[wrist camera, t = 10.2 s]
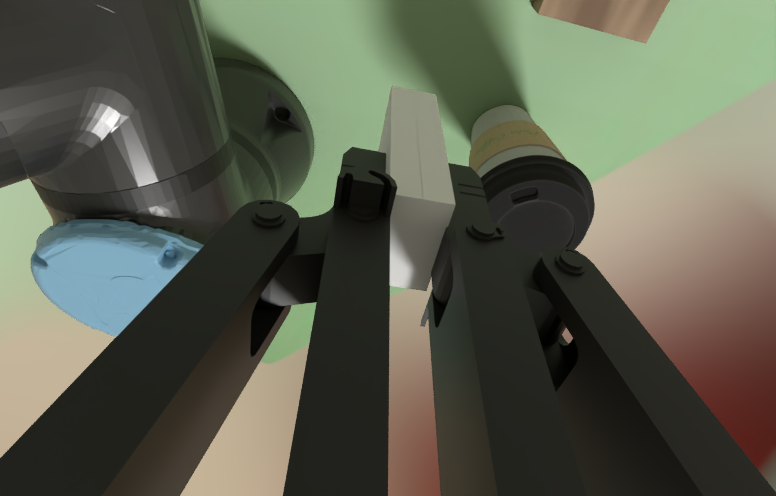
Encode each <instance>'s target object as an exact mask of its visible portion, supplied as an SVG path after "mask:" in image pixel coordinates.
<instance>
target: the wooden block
mask: <svg viewBox="0 0 776 496" xmlns="http://www.w3.org/2000/svg"><path fill="white" fill-rule="evenodd" d="M669 1H670V0H534V2H533V5H532V7H533V8H534V9H535V11H536V12H537V13H538V14H540V15H544V16H548V17H551V18H555V19H559V20H562V21H566V22H570V23H573V24H577V25H580V26H584V27H588V28H591V29H595V30H599V31H602V32H606V33H609V34H613V35H617V36H620V37H624V38H628V39H631V40H635V41H638V42H642V43H646V42H647V40H648V39H649V37H650V35H651V33H652V31H653V30H654V28H655V26H656V24H657V22H658V20H659V19H660V17H661V15H662V13H663V11H664V10H665V8H666V6H667V4H668V2H669Z"/></svg>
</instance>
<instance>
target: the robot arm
mask: <svg viewBox="0 0 776 496" xmlns="http://www.w3.org/2000/svg"><path fill="white" fill-rule="evenodd" d="M313 155H314V137H313V131H312V127H311V124H310V121H309V119H308V116H307V114H306V112H305V110H304V108H303V107H302V105H301V104H300V102H299V101H298V99H297V98H296V97H295V95H294V94H293V93H292V92H291V91H290V90H289V89H288V88H287V87H286V86H285V85H284V84H283V83H282V82H281V81H279V80H278V79H277V78H275V77H274V76H272V75H271V74H269V73H268V72H266V71H264V70H262V69H260V68H258V67H256V66H254V65H251V64H249V63H246V62H242V61H238V60H233V59H224V58H215V59H213V57H212V53H211V49H210V45H209V40H208V36H207V32H206V28H205V24H204V20H203V16H202V12H201V8H200V3H199V0H0V188H2V187H5V186H8V185H11V184H13V183H16V182H19V181H22V180H25V179H30V180H31V182H32V184H33V185H34V187H35V189H36V190H37V192H38V194H39V196H40V198H41V199H42V201H43V203H44V205H45V207H46V208H47V210H48V212H49V214H50V215H51V217H52V219H53V226H50V227H49V228H47V229H46V230H45V231H44V232H43V233H42V234H40V236H39V237H38V239H37V246H36V250H35V252H34V253H33V255H32V257H31V271H32V273H33V277H34V279H35V281H36V283H37V285H38V286H39V288H40V289H41V291H42V292H43V293H44V295H45V296H46V297H47V298H48V299H49V300H50V301H51V302H52V303H53V304H55V305H56V306H57V307H58V308H59V309H61V310H62V311H63V312H65V313H66V314H68V315H69V316H71V317H73V318H74V319H76V320H77V321H79V322H81V323H83V324H85V325H87V326H89V327H91V328H93V329H96V330H99V331H102V332H105V333H107V334H110V335H112V336H115V337H116V338H115V339H114V340H113V341H112V342H111V343H110V344H109V345H108V346H107V347H106V349H104V351H103V352H102V353H101V354H100V355H99V356H98V357H97V358H96V359H95V360H94V361H93V362H92V363H91V364H90V365H89V366H88V367H87V368H86V369H85V370H84V371H83V373H81V375H80V376H79V377H78V378H77V379H76V380H75V381H74V382H73V383H72V384H71V385H70V386H69V387H68V388H67V389H66V390H65V391H64V392H63V393H62V394H61V395H60V396H59V397H58V399H57V400H56V401H55V402H54V403H53V404H52V405H51V406H50V407H49V408H48V409H47V410H46V411H45V412H44V413H43V414H42V415H41V416H40V417H39V418H38V420H37V421H36V422H35V423H34V424H33V425H32V426H31V427H30V428H29V429H28V430H27V431H26V432H25V433H24V434H23V435H22V436H21V437H20V438H19V439H18V440H17V441H16V442H15V444H13V446H12V447H11V448H10V449H9V450H8V451H7V452H6V453H5V454H4V455H3V456H2V457H1V458H0V496H180V494H181V493H182V491H183V490H184V488H185V486H186V484H187V483H188V481H189V479H190V478H191V476H192V474H193V473H194V471H195V469H196V468H197V466H198V464H199V463H200V461H201V459H202V458H203V456H204V454H205V453H206V451H207V449H208V447H209V446H210V444H211V443H212V441H213V439H214V438H215V436H216V434H217V433H218V431H219V429H220V427H221V426H222V424H223V422H224V421H225V419H226V417H227V416H228V414H229V412H230V411H231V409H232V407H233V406H234V404H235V402H236V400H237V399H238V397H239V395H240V394H241V392H242V391H243V389H244V387H245V386H246V384H247V382H248V381H249V379H250V377H251V376H252V374H253V372H254V370H255V369H256V367H257V365H258V364H259V362H260V360H261V359H262V357H263V355H264V354H265V352H266V350H267V349H268V347H269V345H270V344H271V342H272V340H273V339H274V337H275V335H276V334H277V332H278V330H279V329H280V327H281V325H282V324H283V322H284V320H285V319H286V317H287V315H288V313H289V312H290V309H291V305H295V304H304V303H313V302H317V304H316V309H315V315H314V321H313V327H312V332H311V338H310V344H309V349H308V355H307V361H306V367H305V372H304V378H303V384H302V389H301V395H300V401H299V407H298V412H297V419H296V424H295V430H294V435H293V441H292V447H291V452H290V458H289V464H288V470H287V475H286V481H285V487H284V493H283V496H388V416H389V411H388V410H389V301H390V286H396V287H402V288H409V289H416V290H423V291H427V288H428V285H429V282H430V279H431V276H432V287H433V289H432V292H431V295H430V298H429V300H428V303H427V306H426V309H425V312H424V315H423V318H422V321H421V326H425V324H426V321H427V319H429V333H430V347H431V361H432V377H433V390H434V404H435V419H436V434H437V448H438V463H439V477H440V491H441V496H776V492H775V491H774V489H773V488H772V487H771V486H770V485H769V483H768V482H767V481H766V480H765V478H764V477H763V476H762V475H761V473H760V472H759V471H758V469H757V468H756V467H755V466H754V464H753V463H752V462H751V461H750V459H749V458H748V457H747V456H746V455H745V453H744V452H743V451H742V449H741V448H740V447H739V446H738V444H737V443H736V442H735V441H734V439H733V438H732V437H731V436H730V434H729V433H728V432H727V431H726V429H725V428H724V427H723V426H722V424H721V423H720V422H719V421H718V419H717V418H716V417H715V415H714V414H713V413H712V412H711V410H710V409H709V408H708V407H707V406H706V404H705V403H704V402H703V401H702V399H701V398H700V397H699V396H698V394H697V393H696V392H695V390H694V389H693V388H692V387H691V386H690V384H689V383H688V382H687V380H686V379H685V378H684V377H683V375H682V374H681V373H680V372H679V370H678V369H677V368H676V367H675V365H674V364H673V363H672V362H671V361H670V359H669V358H668V357H667V355H666V354H665V353H664V352H663V350H662V349H661V348H660V347H659V345H658V344H657V343H656V342H655V340H654V339H653V338H652V337H651V335H650V334H649V333H648V332H647V330H646V329H645V328H644V327H643V326H642V324H641V323H640V321H639V320H638V319H637V318H636V316H635V315H634V314H633V313H632V311H631V310H630V309H629V308H628V306H627V305H626V304H625V303H624V301H623V300H622V299H621V298H620V296H619V295H618V294H617V293H616V291H615V290H614V289H613V288H612V286H611V285H610V284H609V283H608V281H607V280H606V279H605V278H604V276H603V275H602V274H601V273H600V271H599V270H598V269H597V268H596V267H595V265H594V264H593V263H592V262H591V261H590V260H589V259H588V258H587V257H585V256H584V255H582V254H580V253H579V252H578V251H576V250H573V249H571V248H567V247H562V246H551V247H547V248H546V249H544V250H543V251H542V253H541V255H540V257H537V256H534V255H531V254H529V253H526V252H523V251H521V250H519V249H516V248H514V247H512V246H511V242H510V239H509V236H508V235H507V233H506V231H505V230H504V229H503V228H502V227H501V226H500V225H499V224H497V223H495V222H493V221H492V218H491V215H490V211H489V207H488V204H487V200H486V198H485V193H484V190H483V185H482V182H481V178H480V177H479V175H478V174H477V173H476V172H475V171H474V170H473V169H472V168H471V167H467V166H461V165H456V164H450V163H448V159H447V154H446V148H445V142H444V137H443V131H442V126H441V120H440V114H439V109H438V103H437V97H436V94H430V93H425V92H420V91H415V90H410V89H405V88H400V87H395V86H392V87H391V91H390V96H389V101H388V106H387V111H386V116H385V121H384V126H383V131H382V136H381V141H380V146H379V151H378V152H377V151H371V150H366V149H360V148H355V147H352V148H350V149H349V150H348V151H347V152H346V153H344V154H343V159H342V165H341V171H340V174H339V176H338V179H337V186H336V193H335V199H334V206H333V207H332V208H331V209H330V210H329V211H328V212H326V213H324V214H322V215H319V216H314V217H305V218H299V215H298V212H297V211H296V210H295V209H294V208H292V207H291V206H289V205H287V204H285V203H286V202H287V201H289V200H290V199H291V198H292V197H293V196H294V195H295V194H296V193H297V192H298V191H299V189H300V188H301V186H302V185H303V183H304V182H305V180H306V177H307V175H308V172H309V169H310V166H311V164H312V160H313ZM565 328H567V329H568V331H569V332H570V334H571V335H572V337H573V340H572V341H571V343H569V344H568V343H567V342H566V341H565V339H564V338H563V336H562V333H563V332H564V330H565Z"/></svg>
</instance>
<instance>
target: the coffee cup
mask: <svg viewBox="0 0 776 496" xmlns="http://www.w3.org/2000/svg"><path fill="white" fill-rule="evenodd" d="M469 167H471V168H472V169H473V170H474V171H475V172H476V173H477V174H478V175H479V177H480V178H481V182H482V185H483V190H484V193H485V198H486V200H487V204H488V207H489V211H490V215H491V218H492V221H493V222H495V223H497V224H499V225H500V226H501V227H502V228H503V229H504V230H505V231H506V233H507V235H508V236H509V239H510V242H511V246H512V247H514V248H516V249H519V250H521V251H523V252H526V253H529V254H531V255H534V256H537V257H540V255H541V253H542V251H543V250H544V249H546V248H547V247H551V246H562V247H567V248H571V249H573V250H575V249H576V248H577V246H578V245H579V244H580V243H581V241H582V240H583V238H584V236H585V235H586V232H587V230H588V228H589V226H590V224H591V221H592V218H593V215H594V197H593V191H592V187H591V185H590V182H589V181H588V179H587V177H586V176H585V175H584V173H583V172H582V171H581V170H580V169H578V168H577V167H576V166H574V165H573V164H571V163H570V162H568V161H567V160H566V159H565V157H564V156H563V155H562V153H561V152H560V151H559V150H558V148H557V147H556V146H555V145H554V143H553V142H552V141H551V139H550V138H549V137H548V136H547V134H546V133H545V132H544V131H543V130H542V129H541V128H540V127H539V126H537V125H536V123H535V122H534V121H533V120H532V118H531V117H530V116H529V115H528V114H527V113H526V112H525V111H524V110H523V109H522V108H520V107H517V106H514V105H502V106H498V107H494V108H492V109H490V110H488V111H486V112H485V113H483V114H482V115H481V116H480V117H479V118H478V119H477V120H476V122H475V123H474V126H473V128H472V134H471V150H470V156H469Z"/></svg>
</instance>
